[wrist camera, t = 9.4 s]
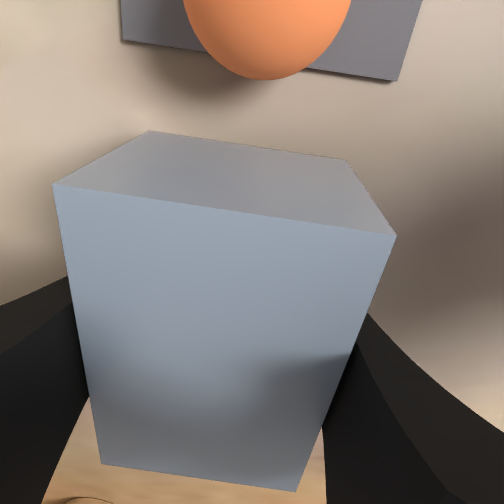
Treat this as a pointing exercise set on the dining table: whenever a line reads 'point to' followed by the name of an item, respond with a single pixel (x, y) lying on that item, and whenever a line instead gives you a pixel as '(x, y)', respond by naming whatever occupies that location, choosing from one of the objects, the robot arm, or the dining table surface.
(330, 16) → the ball
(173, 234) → the pale grey-blue block
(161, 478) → the dining table surface
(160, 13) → the tape square
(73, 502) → the soda can
